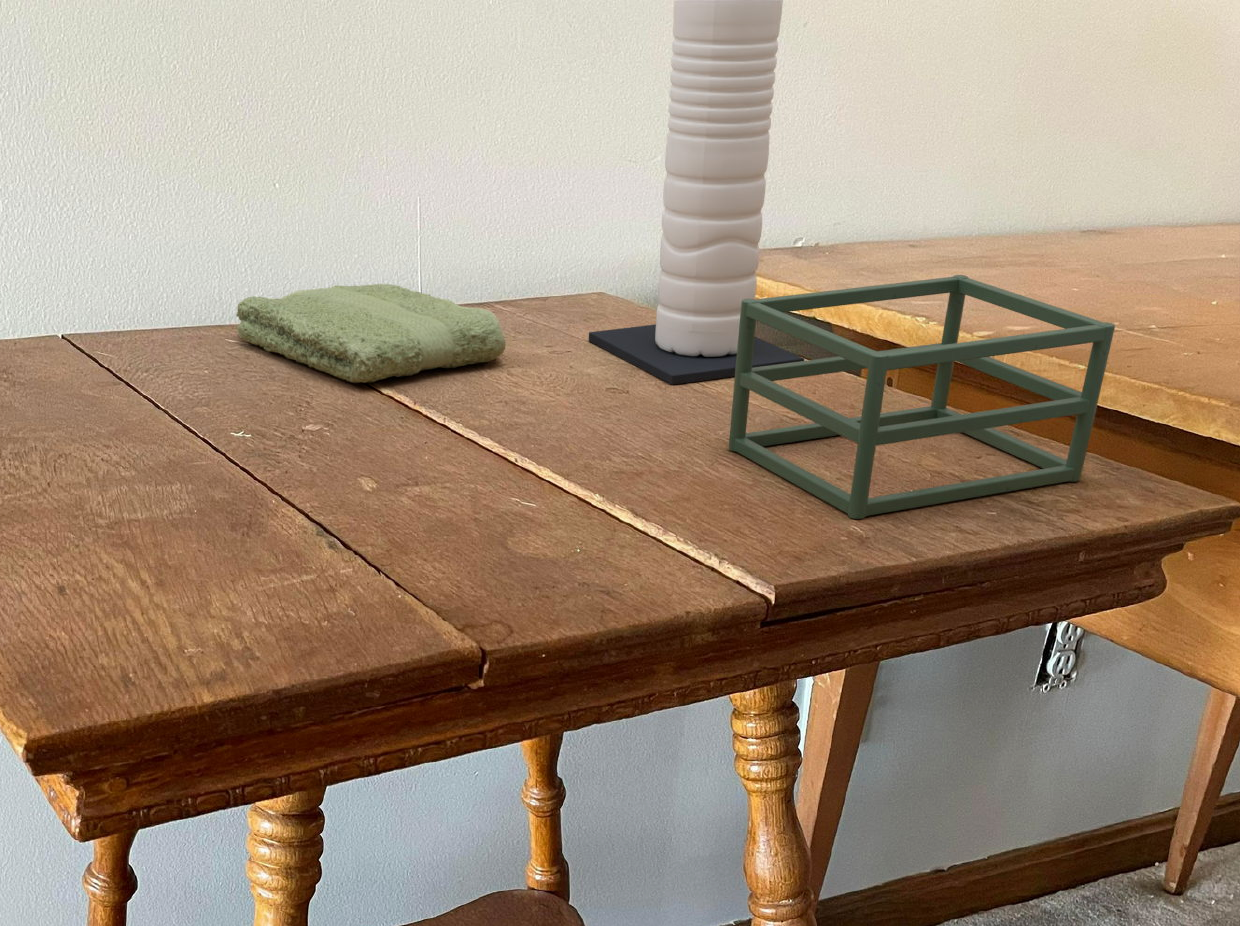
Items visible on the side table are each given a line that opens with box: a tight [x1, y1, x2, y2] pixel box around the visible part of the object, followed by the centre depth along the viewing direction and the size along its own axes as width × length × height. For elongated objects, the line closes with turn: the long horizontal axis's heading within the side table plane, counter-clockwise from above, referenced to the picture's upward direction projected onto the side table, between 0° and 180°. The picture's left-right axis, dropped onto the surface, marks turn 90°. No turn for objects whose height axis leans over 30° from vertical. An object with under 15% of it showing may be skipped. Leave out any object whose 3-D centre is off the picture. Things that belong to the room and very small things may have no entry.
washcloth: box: [235, 283, 507, 384], centre depth 104 cm, size 13×18×3 cm
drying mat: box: [588, 323, 805, 386], centre depth 104 cm, size 12×10×1 cm
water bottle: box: [655, 0, 784, 357], centre depth 97 cm, size 9×6×25 cm
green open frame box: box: [728, 274, 1116, 520], centre depth 83 cm, size 13×15×8 cm
